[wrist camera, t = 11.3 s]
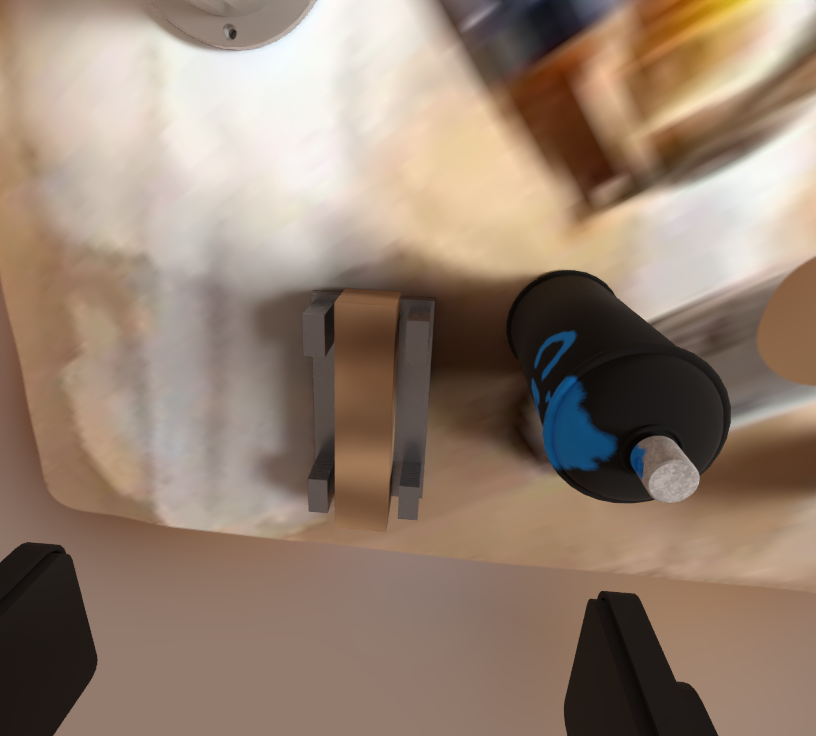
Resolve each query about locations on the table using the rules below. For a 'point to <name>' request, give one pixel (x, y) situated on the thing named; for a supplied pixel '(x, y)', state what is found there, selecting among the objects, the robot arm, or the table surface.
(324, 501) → the cradle
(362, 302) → the rail
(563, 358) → the aerosol can
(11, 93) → the table surface
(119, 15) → the table surface
